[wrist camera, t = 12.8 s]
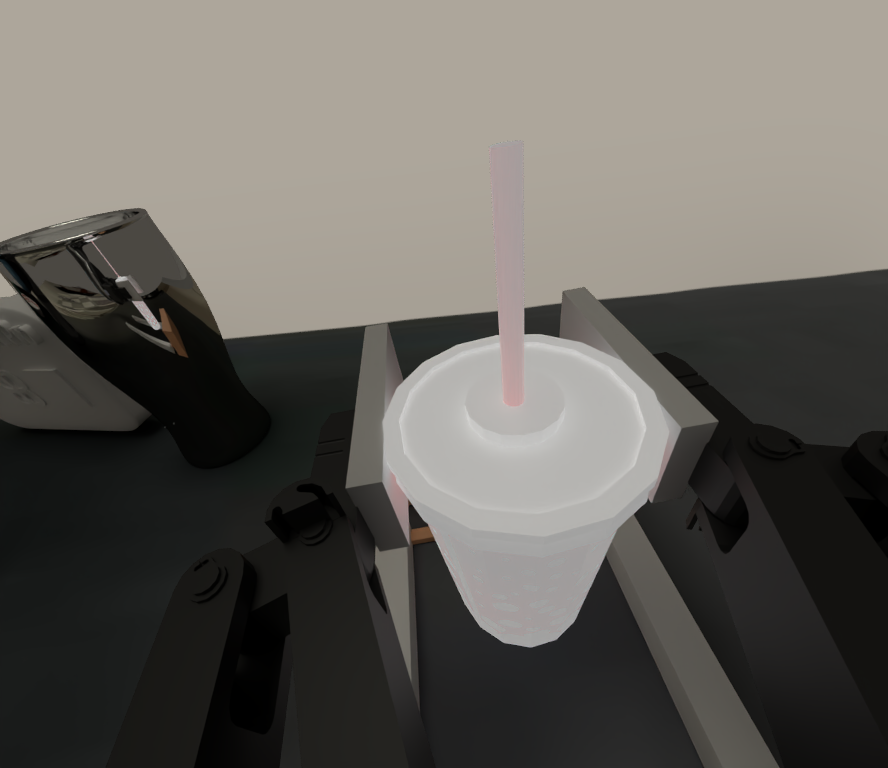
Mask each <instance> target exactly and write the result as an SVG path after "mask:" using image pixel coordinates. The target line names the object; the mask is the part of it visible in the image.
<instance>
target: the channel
mask: <svg viewBox="0 0 888 768" xmlns="http://www.w3.org/2000/svg"><path fill="white" fill-rule="evenodd" d="M409 505H412V503H411V502H410V501H409V499H408V506H409ZM431 541H436V540H435V538H434V536H433V534H432V532H431V530H430V527H424V528H418V529H413V530H412V528H411V526H410V523H409V543H410V546H409V547H404V548H398V549H392V550H387V551H381V552H380V551H379V549H378V548H377V546H376V555H375V564H376V566H377V568H378V570H379V574H380V577H381V581H382V584H383V588H384V591H385V594H386V598H387V601H388V605H389V608H390V612H391V615H392V618H393V622H394V625H395V629H396V632H397V636H398V639H399V642H400V646H401V649H402V653H403V656H404V660H405V663H406V667H407V670H408V673H409V677H410V680H411V684H412V687H413V691H414V694H415V697H416V701H417V704H418V708H419V711H420V701H419V677H418V654H417V631H416V608H415V585H414V561H413V545H414V544H420V543H425V542H431ZM606 557H607V559H608V561H609V563H610V566H611V568H612V570H613V572H614V574H615V576H616V578H617V581H618V583H619V585H620V587H621V589H622V591H623V594H624V596H625V598H626V600H627V602H628V604H629V607H630V609H631V611H632V613H633V615H634V617H635V619H636V622H637V624H638V626H639V628H640V630H641V632H642V635H643V637H644V639H645V641H646V643H647V645H648V648H649V650H650V652H651V654H652V656H653V658H654V660H655V663H656V665H657V667H658V669H659V671H660V673H661V676H662V678H663V680H664V682H665V684H666V686H667V689H668V691H669V693H670V695H671V697H672V699H673V701H674V704H675V706H676V708H677V710H678V712H679V714H680V717H681V719H682V721H683V723H684V725H685V727H686V729H687V732H688V734H689V736H690V738H691V740H692V742H693V745H694V747H695V749H696V751H697V753H698V755H699V758H700V760H701V762H702V764H703V766H704V768H779V766H778V764H777V763H776V761H775V759H774V757H773V756H772V754H771V752H770V750H769V749H768V747H767V745H766V744H765V742H764V740H763V738H762V737H761V735H760V733H759V731H758V730H757V728H756V726H755V724H754V723H753V721H752V719H751V717H750V716H749V714H748V712H747V711H746V709H745V707H744V705H743V704H742V702H741V700H740V698H739V697H738V695H737V693H736V691H735V690H734V688H733V686H732V684H731V683H730V681H729V679H728V678H727V676H726V674H725V672H724V671H723V669H722V667H721V665H720V664H719V662H718V660H717V658H716V657H715V655H714V653H713V651H712V650H711V648H710V646H709V645H708V643H707V641H706V639H705V638H704V636H703V634H702V632H701V631H700V629H699V627H698V625H697V624H696V622H695V620H694V618H693V617H692V615H691V613H690V612H689V610H688V608H687V606H686V605H685V603H684V601H683V599H682V598H681V596H680V594H679V592H678V591H677V589H676V587H675V585H674V584H673V582H672V580H671V579H670V577H669V575H668V573H667V572H666V570H665V568H664V566H663V565H662V563H661V561H660V559H659V558H658V556H657V554H656V552H655V551H654V549H653V547H652V546H651V544H650V542H649V540H648V539H647V537H646V535H645V533H644V532H643V530H642V528H641V526H640V525H639V523H638V521H637V519H636V518H635V516H634V514H633V515H632V516H631V517H629V518H628V519H627V520H626V521H625V522H624V523H623V524H622V525H621V526H620V527H619V528H618V529H617V531H616V533H615V535H614V538H613V540H612V542H611V544H610V546H609V548H608V550H607V553H606Z"/></svg>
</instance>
